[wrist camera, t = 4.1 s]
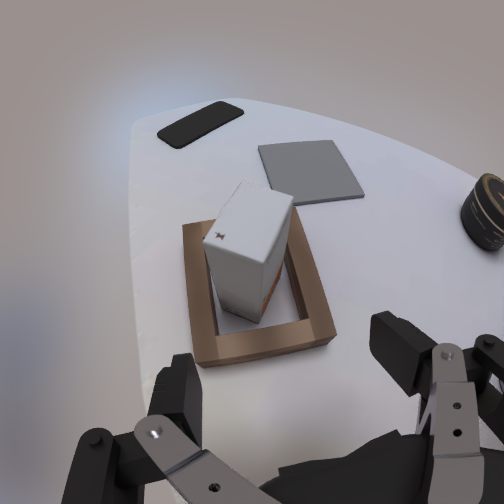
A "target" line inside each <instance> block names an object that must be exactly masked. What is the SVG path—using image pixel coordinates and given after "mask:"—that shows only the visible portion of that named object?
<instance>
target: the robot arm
mask: <svg viewBox="0 0 504 504" xmlns="http://www.w3.org/2000/svg"><path fill="white" fill-rule="evenodd" d="M369 346H370V351H371V353H372V355H373V356H374V357H375V359H376V360H377V361H378V362H379V363H380V364H381V365H382V367H383V368H384V369H385V370H386V371H387V372H388V373H389V375H390V376H391V377H392V378H393V379H394V380H395V381H396V383H397V384H398V385H399V386H400V387H401V388H402V389H403V391H404V392H405V393H406V394H407V395H408V396H409V397H411V396H413V395H415V394H417V393H420V395H421V396H420V399H419V407H418V416H417V424H416V431H415V434H409V435H402V436H401V435H400V433H399V432H398V430H397V429H396V430H394V431H391V432H389V433H387V434H385V435H382V436H380V437H378V438H375V439H373V440H371V441H369V442H368V443H366V444H365V445H363V446H362V447H360V448H358V449H357V450H355V451H354V452H352V453H350V454H349V455H347V456H345V457H341V458H333V459H324V460H312V461H307V462H303V463H299V464H295V465H290V466H286V467H281V468H278V470H279V476H278V477H276V478H273V479H271V480H270V481H268V482H266V483H265V484H263V485H262V486H260V487H259V488H257V487H256V486H254V485H253V484H251V483H250V482H249V481H247V480H246V479H245V478H243V477H242V476H240V475H239V474H238V473H236V472H235V471H234V470H233V469H231V468H230V467H229V466H227V465H226V464H225V463H224V462H222V461H221V460H220V459H219V458H218V457H216V456H215V455H214V454H213V453H211V452H210V451H209V450H207V449H205V450H202V386H201V381H200V378H199V375H198V372H197V369H196V366H195V362H194V359H193V356H192V354H191V353H185V354H177V355H173V359H172V363H171V367H164V368H163V369H162V370H161V371H160V372H159V374H158V375H157V377H156V381H155V385H154V389H153V393H152V398H151V402H150V406H149V410H148V415H147V417H145V418H143V419H141V420H140V421H139V422H138V423H137V425H136V426H135V428H134V431H132V432H129V433H125V434H121V435H116V436H113V435H112V434H111V433H110V432H109V431H108V430H106V429H104V428H93V429H90V430H88V431H87V432H85V433H84V434H83V435H82V436H81V438H80V440H79V442H78V445H77V448H76V452H75V455H74V458H73V461H72V465H71V468H70V472H69V475H68V479H67V483H66V486H65V490H64V494H63V498H62V502H61V504H144V489H145V484H148V483H152V482H156V481H160V480H164V479H167V481H168V482H169V483H170V484H171V485H172V486H173V487H174V488H175V490H176V491H177V492H178V493H179V494H180V495H181V496H182V497H183V498H184V499H185V500H186V501H187V502H188V503H189V504H504V451H500V450H494V449H488V448H482V447H480V443H479V421H478V415H479V416H480V418H481V419H482V420H483V421H484V422H485V423H486V424H487V426H488V427H489V428H490V429H491V430H492V431H493V432H494V434H495V435H496V436H497V437H498V438H499V440H500V441H501V442H502V443H503V444H504V394H503V395H502V394H501V393H500V392H499V391H498V390H497V389H496V388H495V387H494V386H493V385H492V384H491V383H489V380H490V378H491V375H492V373H493V374H494V375H495V376H496V377H497V378H499V379H500V383H501V387H502V390H503V392H504V342H503V341H502V340H500V339H499V338H497V337H496V336H494V335H490V334H484V335H480V336H478V337H477V338H476V341H475V344H474V347H472V348H468V349H464V350H461V348H460V347H458V346H457V345H454V344H451V343H442V344H437V343H436V342H435V341H434V340H432V339H431V338H430V337H429V336H427V335H426V334H425V333H423V332H421V330H420V329H418V328H417V327H415V326H414V325H413V324H412V323H410V322H409V321H407V320H404V319H402V318H397V317H396V316H394V315H393V314H392V313H391V312H389V311H384V312H381V313H377V314H374V315H372V317H371V326H370V341H369Z"/></svg>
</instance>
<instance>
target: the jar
mask: <svg viewBox="0 0 504 504" xmlns="http://www.w3.org/2000/svg"><path fill="white" fill-rule="evenodd" d="M461 214H462V221H463V225H464V227H465V229H466V231H467V233H468V234H469V236H470V237H471V238H472V240H473V241H474V242H475V243H476V244H477V245H479V246H480V247H481V248H483V249H485V250H490V251H494V250H496V249H499V248H501V247H502V246H503V245H504V181H503V180H501V179H500V178H499V177H497V176H495V175H493V174H489V173H486V174H484V175H482V177H480V179H479V180H478V182H477V183H476V184H475V186H474V188H473V190H472V191H471V192H470V194H469V195H468V197H467V198H466V200H465V202H464V204H463V207H462V212H461Z"/></svg>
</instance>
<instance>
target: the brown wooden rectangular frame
mask: <svg viewBox="0 0 504 504" xmlns="http://www.w3.org/2000/svg"><path fill="white" fill-rule="evenodd" d="M215 221H216V219H214V220H208V221H202V222H196V223H190V224H185V225H182V227H183V245H184V260H185V273H186V285H187V296H188V307H189V316H190V325H191V334H192V342H193V350H194V357H195V363H197V364H198V365H199V366H201V367H202V368H207V367H214V366H221V365H228V364H234V363H240V362H246V361H252V360H257V359H262V358H267V357H272V356H277V355H282V354H287V353H291V352H296V351H300V350H304V349H309V348H313V347H317V346H321V345H325V344H328V343H329V342H330V341H331V340H332V339H333V338H334V337H335V336H336V335H337V333H336V329H335V326H334V322H333V319H332V316H331V312H330V309H329V306H328V302H327V299H326V296H325V293H324V290H323V286H322V283H321V280H320V277H319V274H318V271H317V268H316V265H315V262H314V259H313V256H312V253H311V250H310V247H309V244H308V241H307V238H306V235H305V232H304V229H303V227H302V224H301V221H300V218H299V215H298V213H297V210H296V207H293V208H292V214H291V220H290V226H289V232H288V238H287V243H286V249H285V254H284V261H285V265H286V268H287V272H288V275H289V279H290V283H291V286H292V290H293V294H294V298H295V301H296V305H297V309H298V313H299V316H300V321H296V322H291V323H286V324H281V325H276V326H271V327H266V328H261V329H256V330H250V331H244V332H239V333H233V334H227V335H220V336H219V332H218V325H217V319H216V312H215V305H214V298H213V291H212V283H211V276H210V268H209V264H208V260H207V257H206V253H205V250H204V246H203V240H204V238H205V237H206V235H207V233H208V232H209V230H210V229H211V227H212V226H213V224H214V222H215Z"/></svg>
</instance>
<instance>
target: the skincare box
mask: <svg viewBox="0 0 504 504" xmlns="http://www.w3.org/2000/svg"><path fill="white" fill-rule="evenodd" d="M293 202H294V197H293V196H291V195H288V194H284V193H281V192H278V191H275V190H272V189H269V188H265V187H262V186H259V185H256V184H253V183H250V182H247V181H242V182H241V183H240V185H239V186H238V188H237V189H236V191H235V192H234V193H233V195H232V197H231V198H230V199H229V200H228V202H227V203H226V204H225V205H224V207H223V208H222V210H221V212H220V214H219V216H218V218H217V219H216V221H215V222H214V224H213V226H212V227H211V229H210V230H209V232H208V233H207V235H206V237H205V238H204V240H203V246H204V250H205V253H206V257H207V260H208V264H209V267H210V271H211V275H212V278H213V282H214V285H215V288H216V292H217V295H218V299H219V302H220V305H221V308H223V309H225V310H228V311H230V312H232V313H235V314H237V315H240V316H242V317H244V318H247V319H249V320H252V321H254V322H256V323H259V322H260V321H261V318H262V316H263V313H264V311H265V309H266V306H267V304H268V301H269V299H270V297H271V295H272V292H273V290H274V288H275V286H276V284H277V282H278V280H279V277H280V275H281V270H282V265H283V260H284V254H285V249H286V243H287V238H288V232H289V226H290V220H291V214H292V208H293Z"/></svg>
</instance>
